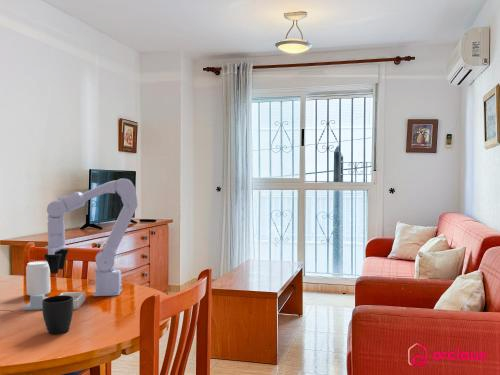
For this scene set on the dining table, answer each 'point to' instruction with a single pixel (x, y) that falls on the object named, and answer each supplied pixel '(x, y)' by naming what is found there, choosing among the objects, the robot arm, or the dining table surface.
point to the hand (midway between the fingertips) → (57, 271)
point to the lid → (35, 302)
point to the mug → (57, 313)
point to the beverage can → (38, 278)
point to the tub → (76, 298)
